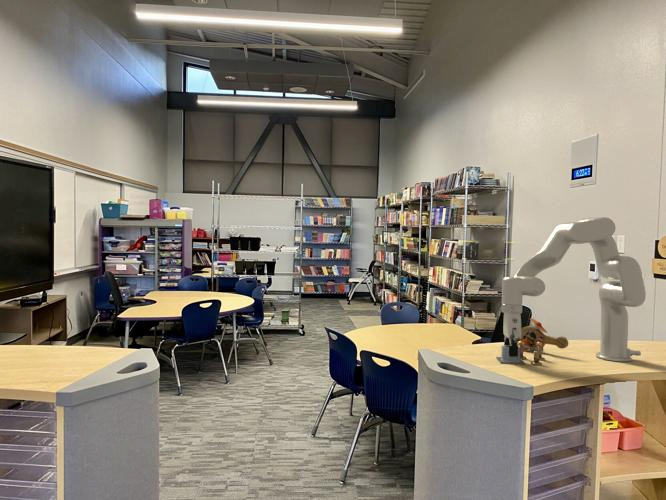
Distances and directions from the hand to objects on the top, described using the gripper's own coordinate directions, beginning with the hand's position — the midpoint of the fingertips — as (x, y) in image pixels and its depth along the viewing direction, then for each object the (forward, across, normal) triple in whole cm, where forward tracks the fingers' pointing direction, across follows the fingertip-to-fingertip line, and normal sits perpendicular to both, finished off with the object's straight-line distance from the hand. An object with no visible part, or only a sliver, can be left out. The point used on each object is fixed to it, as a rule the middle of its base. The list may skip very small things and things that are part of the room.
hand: (510, 353), depth 182 cm
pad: (+3, 0, 0) cm, 3 cm away
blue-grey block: (+2, 0, 0) cm, 2 cm away
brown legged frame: (+3, +2, -9) cm, 10 cm away
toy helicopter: (+3, +21, -17) cm, 27 cm away
